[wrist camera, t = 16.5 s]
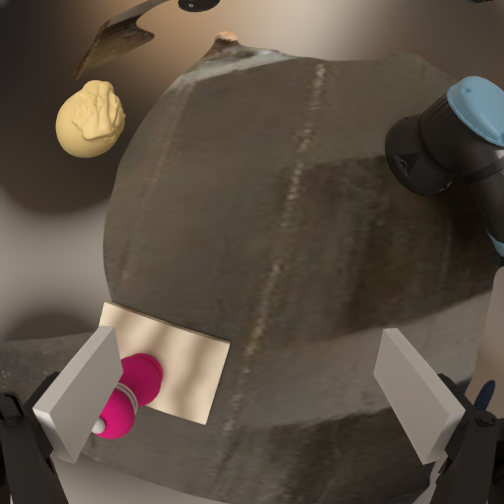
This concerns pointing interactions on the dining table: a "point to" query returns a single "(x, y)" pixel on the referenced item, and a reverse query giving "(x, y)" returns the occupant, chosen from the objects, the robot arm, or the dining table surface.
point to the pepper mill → (129, 395)
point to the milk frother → (197, 5)
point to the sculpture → (90, 120)
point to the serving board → (172, 359)
